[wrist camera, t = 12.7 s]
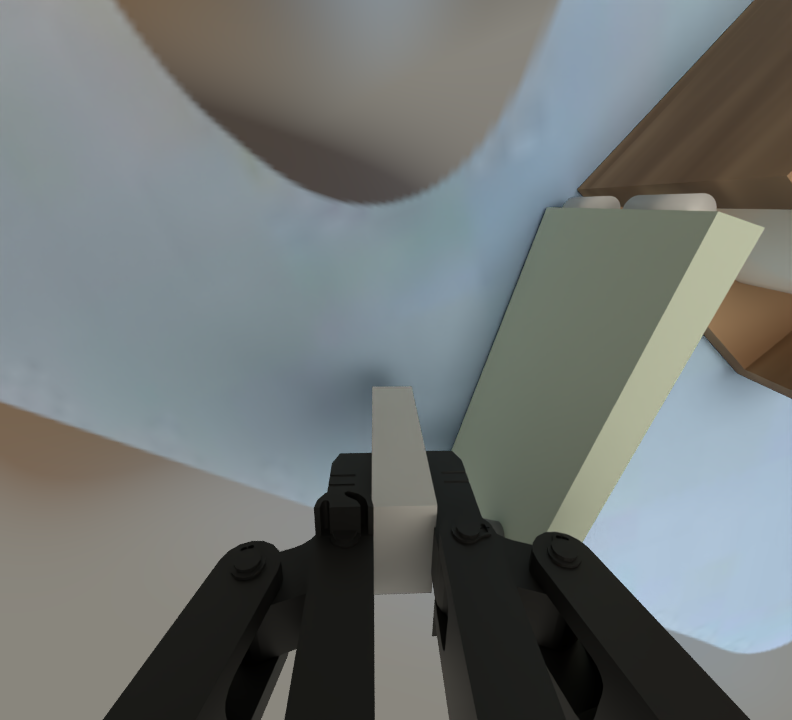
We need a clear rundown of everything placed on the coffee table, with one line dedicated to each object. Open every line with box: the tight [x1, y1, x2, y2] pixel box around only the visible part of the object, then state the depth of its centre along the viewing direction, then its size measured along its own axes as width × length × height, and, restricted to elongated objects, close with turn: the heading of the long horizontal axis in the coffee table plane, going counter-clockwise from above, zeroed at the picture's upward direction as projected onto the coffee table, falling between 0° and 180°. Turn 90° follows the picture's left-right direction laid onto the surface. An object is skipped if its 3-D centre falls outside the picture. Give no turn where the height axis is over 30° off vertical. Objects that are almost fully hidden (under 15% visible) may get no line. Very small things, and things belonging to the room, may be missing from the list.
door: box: [451, 193, 765, 545], centre depth 15 cm, size 13×2×9 cm, turn 164°
